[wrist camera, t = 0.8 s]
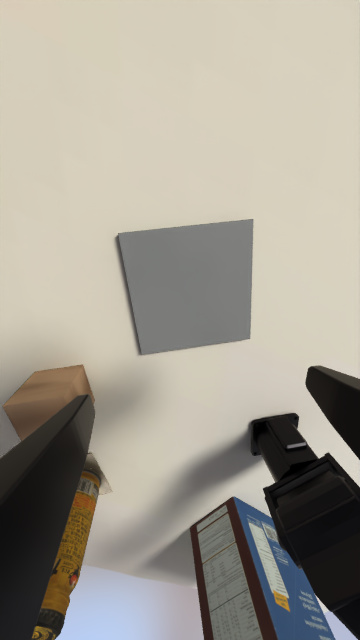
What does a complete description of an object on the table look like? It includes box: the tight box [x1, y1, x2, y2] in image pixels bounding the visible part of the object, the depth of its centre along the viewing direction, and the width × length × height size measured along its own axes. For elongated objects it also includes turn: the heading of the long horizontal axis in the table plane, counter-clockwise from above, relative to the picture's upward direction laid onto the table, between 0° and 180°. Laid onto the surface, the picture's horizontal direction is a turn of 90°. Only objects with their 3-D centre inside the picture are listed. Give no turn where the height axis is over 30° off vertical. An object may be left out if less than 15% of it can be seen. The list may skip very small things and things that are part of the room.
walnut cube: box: [3, 365, 95, 441], centre depth 20 cm, size 5×5×5 cm
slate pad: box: [118, 219, 253, 355], centre depth 20 cm, size 12×12×1 cm
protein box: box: [190, 497, 335, 640], centre depth 29 cm, size 10×15×16 cm
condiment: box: [31, 454, 112, 640], centre depth 22 cm, size 7×8×12 cm
